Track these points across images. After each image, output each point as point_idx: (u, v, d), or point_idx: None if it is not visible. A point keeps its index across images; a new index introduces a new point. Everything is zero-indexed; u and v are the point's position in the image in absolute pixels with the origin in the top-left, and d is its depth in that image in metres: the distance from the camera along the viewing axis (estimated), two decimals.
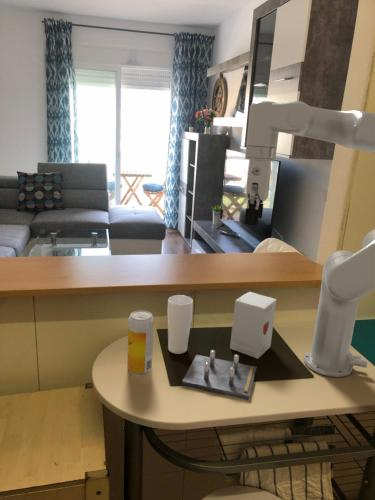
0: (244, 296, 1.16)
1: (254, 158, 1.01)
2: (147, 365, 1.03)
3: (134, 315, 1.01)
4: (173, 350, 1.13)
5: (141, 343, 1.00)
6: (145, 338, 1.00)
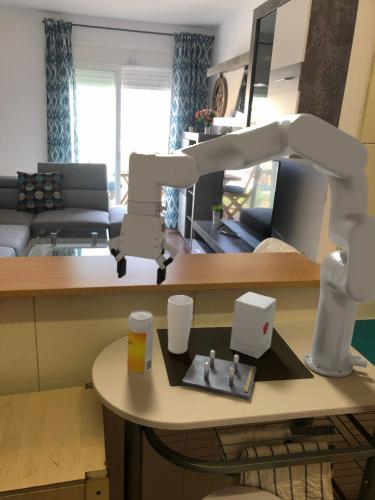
0: (244, 296, 1.16)
1: (157, 215, 0.92)
2: (147, 365, 1.03)
3: (134, 315, 1.01)
4: (173, 350, 1.13)
5: (141, 343, 1.00)
6: (145, 338, 1.00)
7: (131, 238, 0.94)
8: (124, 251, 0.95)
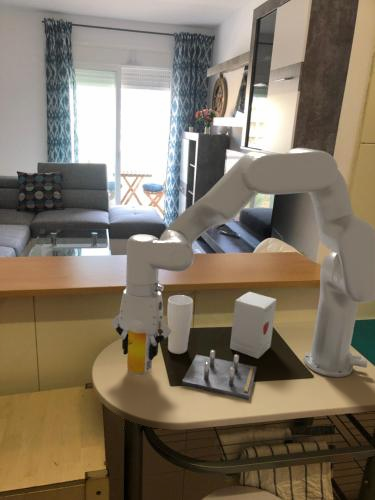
0: (244, 296, 1.16)
1: (154, 294, 0.97)
2: (147, 365, 1.03)
3: None
4: (173, 350, 1.13)
5: (141, 343, 1.00)
6: (145, 338, 1.00)
7: (130, 315, 0.99)
8: (124, 327, 1.01)
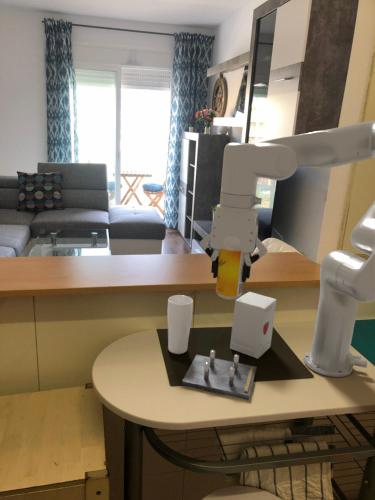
0: (244, 296, 1.16)
1: (252, 208, 0.90)
2: (240, 288, 0.95)
3: None
4: (173, 350, 1.13)
5: (235, 263, 0.92)
6: (239, 257, 0.92)
7: (224, 232, 0.92)
8: (215, 245, 0.93)
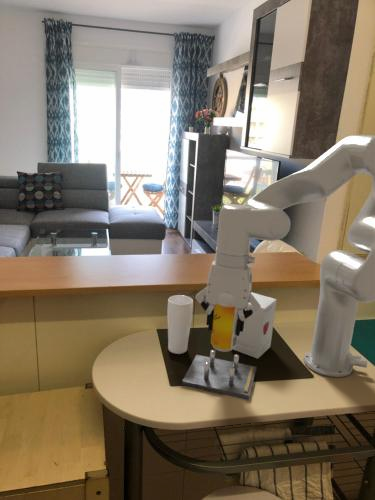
0: None
1: (246, 266, 0.94)
2: (233, 341, 0.99)
3: None
4: (173, 350, 1.13)
5: (229, 318, 0.96)
6: (233, 312, 0.96)
7: (219, 289, 0.95)
8: (211, 301, 0.97)
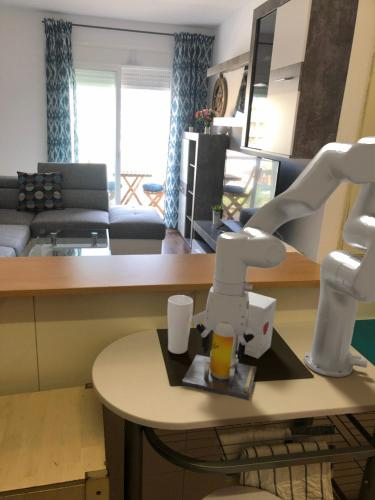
0: None
1: (243, 293, 0.96)
2: None
3: None
4: (173, 350, 1.13)
5: (228, 347, 0.98)
6: (232, 342, 0.98)
7: (217, 315, 0.97)
8: (209, 326, 0.99)
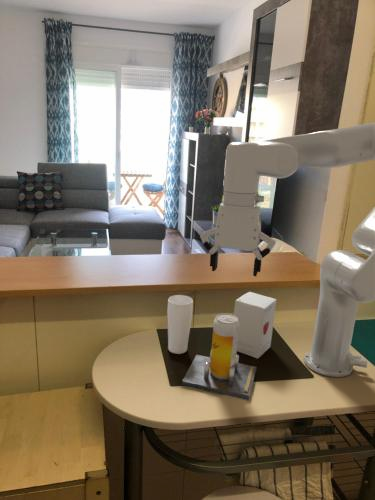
0: (244, 296, 1.16)
1: (255, 205, 0.92)
2: None
3: (220, 318, 0.99)
4: (173, 350, 1.13)
5: (228, 347, 0.98)
6: (232, 342, 0.98)
7: (228, 230, 0.93)
8: (220, 244, 0.95)
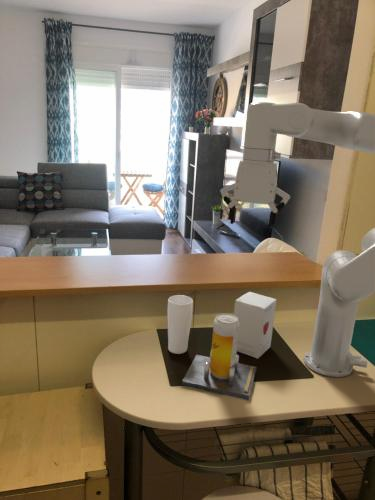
0: (244, 296, 1.16)
1: (272, 161, 1.00)
2: None
3: (220, 318, 0.99)
4: (173, 350, 1.13)
5: (228, 347, 0.98)
6: (232, 342, 0.98)
7: (247, 184, 1.02)
8: (239, 197, 1.03)
